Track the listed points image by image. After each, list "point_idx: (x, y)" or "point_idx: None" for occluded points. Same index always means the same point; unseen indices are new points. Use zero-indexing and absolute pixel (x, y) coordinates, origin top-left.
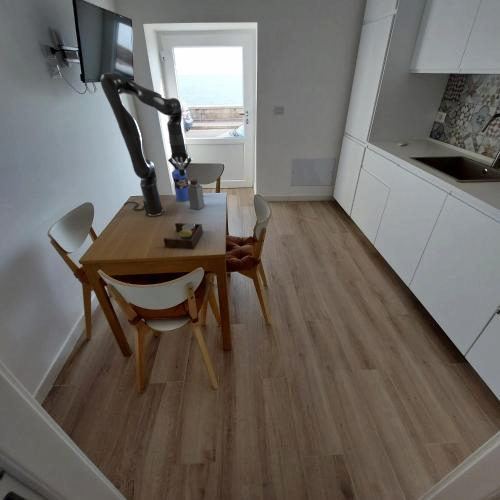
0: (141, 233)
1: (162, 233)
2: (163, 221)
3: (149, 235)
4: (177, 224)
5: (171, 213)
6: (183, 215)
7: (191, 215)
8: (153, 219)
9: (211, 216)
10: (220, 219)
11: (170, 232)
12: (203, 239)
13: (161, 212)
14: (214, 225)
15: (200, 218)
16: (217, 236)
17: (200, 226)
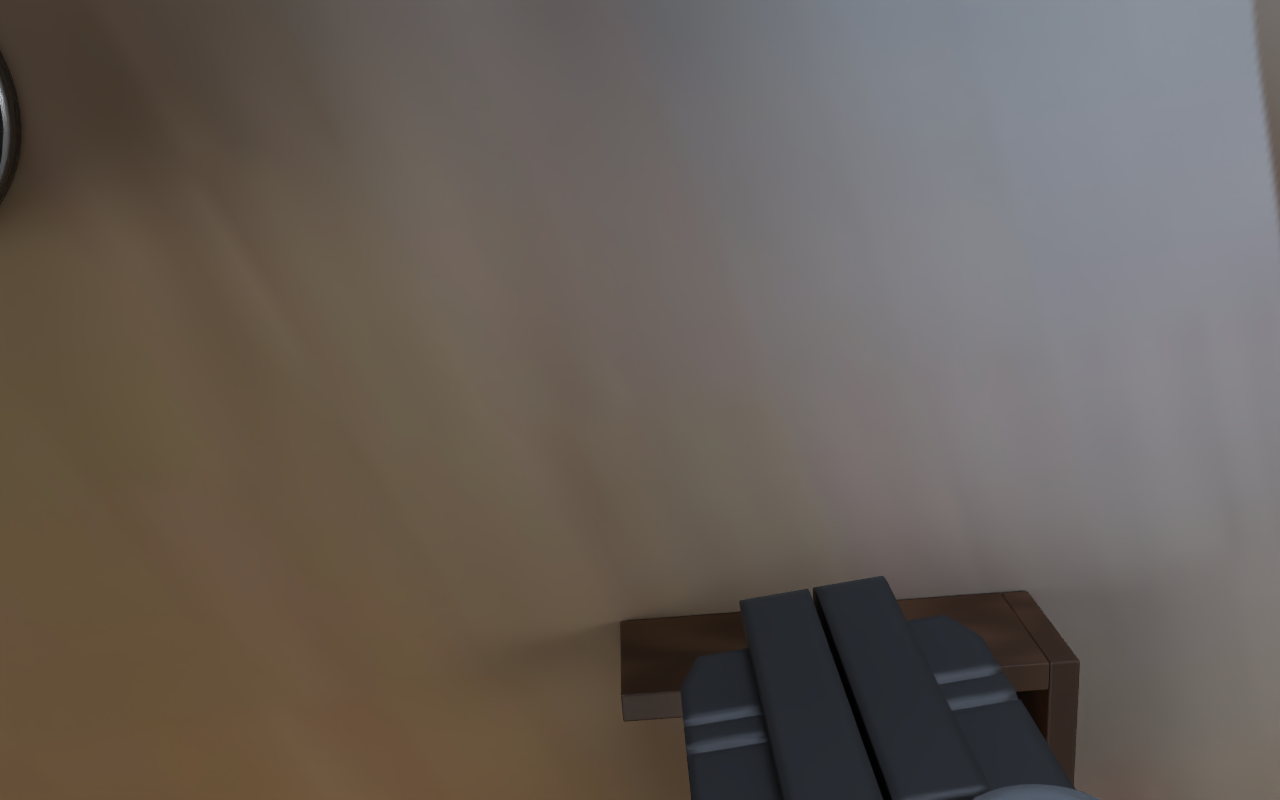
0: (129, 771)
1: (437, 721)
2: (234, 385)
3: (281, 796)
4: (665, 712)
5: (195, 52)
6: (479, 97)
7: (637, 70)
8: (8, 347)
9: (1043, 45)
10: (1238, 138)
11: (541, 677)
12: (1087, 759)
13: (4, 120)
14: (1167, 367)
15: (854, 163)
16: (1270, 660)
17: (1075, 720)
